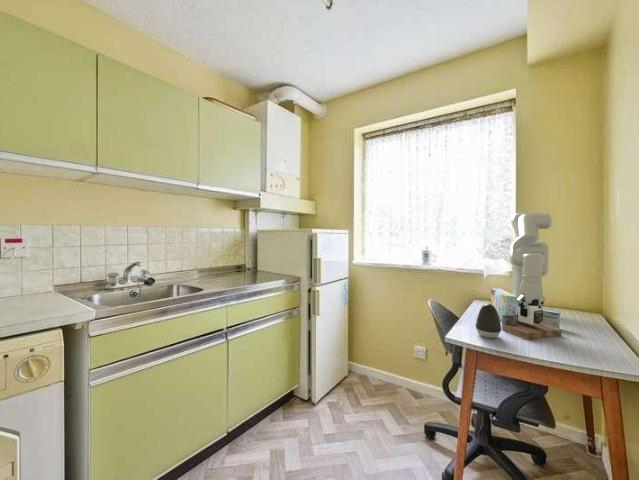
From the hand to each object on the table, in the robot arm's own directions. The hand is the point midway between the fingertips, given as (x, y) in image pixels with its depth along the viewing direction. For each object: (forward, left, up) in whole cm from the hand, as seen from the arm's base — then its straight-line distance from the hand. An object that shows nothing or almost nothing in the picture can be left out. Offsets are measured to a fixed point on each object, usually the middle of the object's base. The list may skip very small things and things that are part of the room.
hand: (530, 315), depth 138 cm
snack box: (-6, -21, -9) cm, 23 cm away
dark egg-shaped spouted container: (+24, -1, -9) cm, 25 cm away
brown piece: (0, +1, -8) cm, 8 cm away
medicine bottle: (0, 0, -4) cm, 4 cm away
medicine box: (-16, -3, -9) cm, 18 cm away
